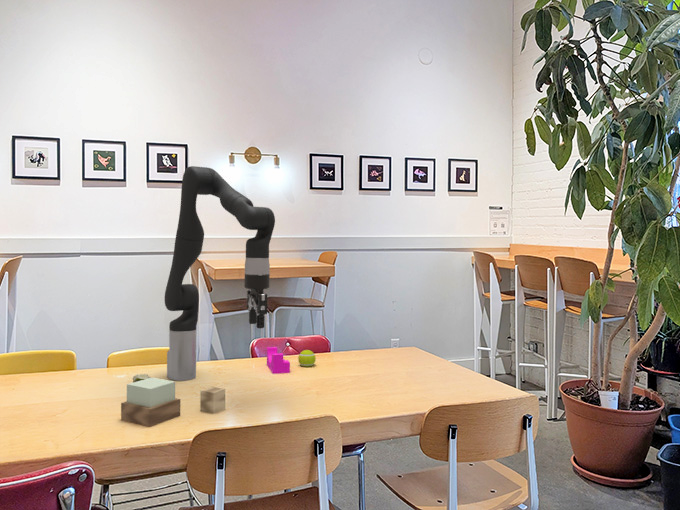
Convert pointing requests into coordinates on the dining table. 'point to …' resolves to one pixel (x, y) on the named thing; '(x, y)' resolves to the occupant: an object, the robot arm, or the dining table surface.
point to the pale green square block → (150, 392)
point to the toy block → (277, 361)
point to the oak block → (212, 400)
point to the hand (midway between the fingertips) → (256, 325)
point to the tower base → (150, 413)
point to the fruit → (140, 377)
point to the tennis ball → (306, 358)
